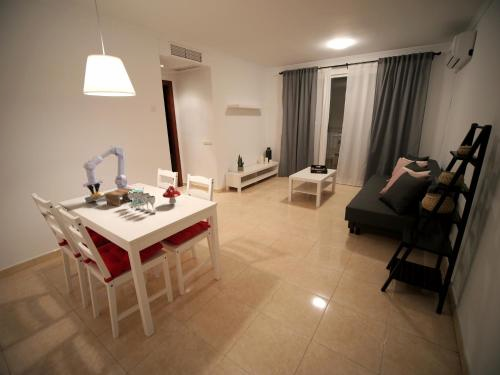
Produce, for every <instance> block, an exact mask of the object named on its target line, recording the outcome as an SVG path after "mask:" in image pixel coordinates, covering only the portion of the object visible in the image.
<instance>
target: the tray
mask: <svg viewBox="0 0 500 375" xmlns="http://www.w3.org/2000/svg"><path fill="white" fill-rule="evenodd" d="M102 198H106V197H105V195H104V194H101V192H100V191H99V192H96V191H95V192H94V194H92V193H90V194H89V196H87V197H84V200H85V202H86V204H88V203H92V202H94V201H97V200H100V199H102Z"/></svg>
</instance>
